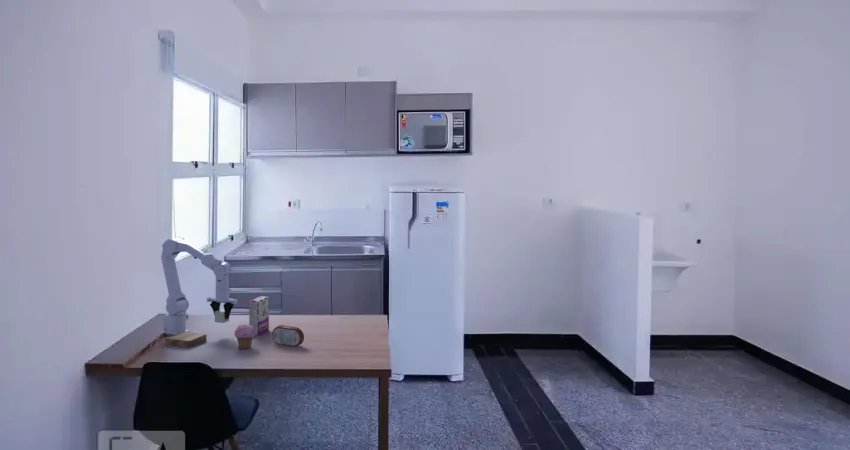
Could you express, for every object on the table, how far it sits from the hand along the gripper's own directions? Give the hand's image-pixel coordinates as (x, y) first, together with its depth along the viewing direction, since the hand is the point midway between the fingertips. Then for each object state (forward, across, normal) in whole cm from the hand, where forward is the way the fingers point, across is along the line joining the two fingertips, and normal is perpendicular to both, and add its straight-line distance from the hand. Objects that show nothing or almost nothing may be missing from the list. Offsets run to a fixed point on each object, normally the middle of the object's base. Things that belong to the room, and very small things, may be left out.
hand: (222, 318), depth 280 cm
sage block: (+2, 0, 0) cm, 2 cm away
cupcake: (+9, -19, +12) cm, 24 cm away
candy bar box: (+9, -12, -12) cm, 19 cm away
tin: (+9, -34, +2) cm, 35 cm away
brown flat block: (+8, +8, +15) cm, 19 cm away
